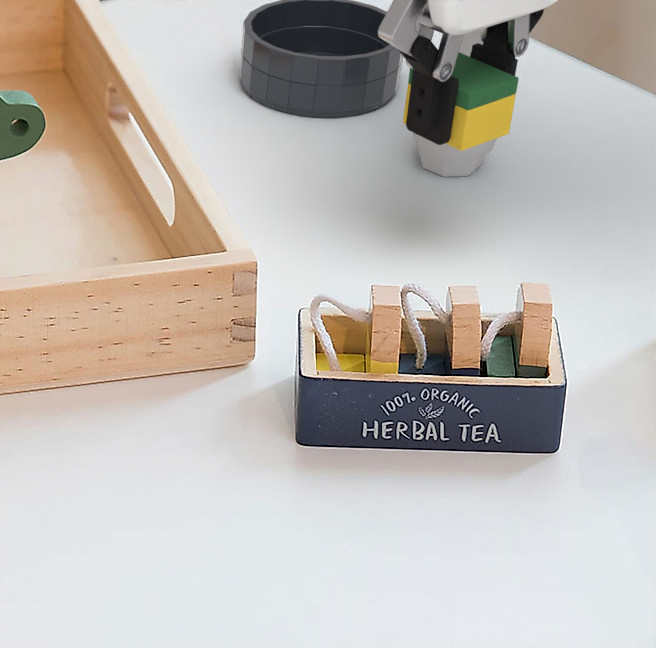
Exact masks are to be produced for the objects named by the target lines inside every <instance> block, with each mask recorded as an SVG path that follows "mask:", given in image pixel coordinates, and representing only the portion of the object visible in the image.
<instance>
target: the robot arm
mask: <svg viewBox="0 0 656 648" xmlns="http://www.w3.org/2000/svg"><path fill="white" fill-rule="evenodd" d="M558 1H559V0H392V2H391V3H390V6H389V8H388V10H386V11H387V13H386V15H385V17H384V19H383V21H382V23H381V25H380V26H379V29H378V36H379V37H380V38H381V39H382V40H384V41H386V42H387V43H389V44H390V45H392V46H393V47H395V48H397V49H398V51H399V52H400V53H401V54H402V55H403V59H405V65H406V66H407V68H409V69H410V68H412V69H413V74H412V82H411V89H410V97H409V104H408V112H407V119H406V124H405V126H406V129H407V130H408V131H409V132H411V133H412V134H413V133H415V134H417V135H419V136H421V137H423V138H425V139H427V140H429V141H431V142H433V143H435V144H438V145H442V144H445V143H447V142H449V140H450V137H451V130H452V124H453V117H454V111H455V105H456V98H457V91H458V88H459V79H457V78H455V77H452V76H451V75H452V73H453V71H454V67H455V64H456V60H457V57H458V53H459V49H460V46H461V42H462V39H463V35H464V34H467V33H471V32H474V31H477V30H481V41H482V42H483V45H482V44H479V43H477V44H474V45H472V51H471V54H470V57H471V58H474V59H476V60H478V61H481V62H483V63H485V64H488V65H490V66H492V67H495V68H497V69H499V70H502V71H504V72H506V73H509V74H511V75H513V76H516V73H517V68H518V67H517V66H518V61H519V59H518V58H520V57H522V56H523V55H524V54H525V53H526V52H527V50H528V47H529V44H530V33H532V31H533V29H534V28H535V27H536V25H537V24H538V23H539V21H540V20H541V18H542V17H543V14H544V11H545V10H546V9H547V8H549V7H551V6H553V4H555V3H556V2H558ZM435 31H436V32H438V33H441V34H442V35H441V38H440V43H439V45H438V48H437V46H436V45H435V44H434V43H433V41H432V40H433V37H434V33H435Z"/></svg>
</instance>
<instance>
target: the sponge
mask: <svg viewBox="0 0 656 648" xmlns="http://www.w3.org/2000/svg"><path fill="white" fill-rule="evenodd" d="M412 74H413V69H412V68H409V74H408V83H407V90H406V96H405V102H404V112H403V119H402V123H403V124H405V125H406V119H407V112H408V104H409V97H410V89H411V82H412ZM451 76H452V77H455V78H457V79H459V88H458V91H457V98H456V105H455V111H454V117H453V124H452V130H451V137H450V140H449V142H447V143H446V144H448V145H450V146H452V147H454V148H456V149H458V150H460V151H463V150H466V149H469V148H471V147H474V146H477V145H480V144H482V143H485V142H488V141H490V140H493V139H496V138H497V139H498V138H501V137H504V136H508V135H509V134H510V129H511V124H512V119H513V113H514V109H515V108H514V107H515V102H516V96H517V90H518V84H519V81H520V80H519V79H520V78H519V77H518V76H516V75H515V76H513V75H511V74H509V73H506V72H504V71H502V70H499V69H497V68H495V67H492V66H490V65H488V64H485V63H483V62H481V61H478V60H476V59H474V58H471V57H469V56H467V55H464V54H462V53H460V52H459V53H458V57H457V60H456V64H455V67H454V71H453V73H452V75H451ZM497 139H496V140H497Z"/></svg>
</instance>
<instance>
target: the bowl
mask: <svg viewBox="0 0 656 648" xmlns="http://www.w3.org/2000/svg"><path fill="white" fill-rule="evenodd" d="M387 11H388V10H385V9H382V8H380V7H378V6H375V5H372V4H368V3H366V2H365V3H364V2H361V1H357V0H276V1H272V2H268V3H265V4H262V5H260V6H258V7H257V8H255V9H253V10H250V12H249V13H248V14H247V16H246V17H245V18H244V20H243V25H242V34H241V35H242V36H241V48H240V60H239V79H240V82H241V84H242V86H243V88H244V90H245V92H246V93H247V94H248V95H249V97H250V98H252V99H253V100H254V101H256V102H258V103H260V104H262V105H264V106H266V107H268V108H270V109H273V110H276V111H280V112H283V113H287V114H292V115H296V116H303V117H312V118H343V117H351V116H358V115H362V114H365V113H369V112H372V111H375V110H377V109H379V108H381V107H383V106H384V105H385V104H387V103H388V102H389V101H390V100H391V98H392V96H394V95H395V94H396V92H397V89H398V88H399V85H400V82H401V75H402V68H403V60H404V57H403V55H402V54H401V53H400V52H399V51H398V49H397V48H395V47H393V46H392V45H390V44H389V43H387V42H386V41H384V40H382V39H381V38H380V37H379V36H378V29H379V26H380V25H381V23H382V21H383V19H384V17H385V15H386V13H387Z"/></svg>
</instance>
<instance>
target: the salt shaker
mask: <svg viewBox="0 0 656 648" xmlns="http://www.w3.org/2000/svg"><path fill="white" fill-rule="evenodd" d="M477 43H479V44H482V45H483V42H482V41H481V30H477V31H474V32H471V33H467V34H464V35H463V39H462V42H461V46H460V49H459V52H460V53H462V54H464V55H467V56H469V57H470V54H471V51H472V45H474V44H477ZM412 137H413V139H414V143H415V145H416V147H417V150H418V154H419V158H420V162H421V167H422V168H423V169H425V170H427V171H429V172H432V173H434V174H436V175H438V176H441V177H445V178H446V177H470V176H471V175H472V174H473V173H474V172H475V171H476V170H478V168H480V166H481V165H482V163H483V162H484V160H485V159H486V157H488V155H489V153H490V152H491V151H492V150H493V148H494V146H495V145H496V144H495V143H496V141H497V139H498V138H496V139H493V140H490V141H488V142H485V143H482V144H480V145H477V146H474V147H471V148H469V149H466V150H463V151H460V150H458V149H456V148H454V147H452V146H450V145H448V144H446V143H445V144H442V145H438V144H435V143H433V142H431V141H429V140H427V139H425V138H423V137H421V136H419V135H417V134H415V133H413V132H412Z"/></svg>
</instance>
